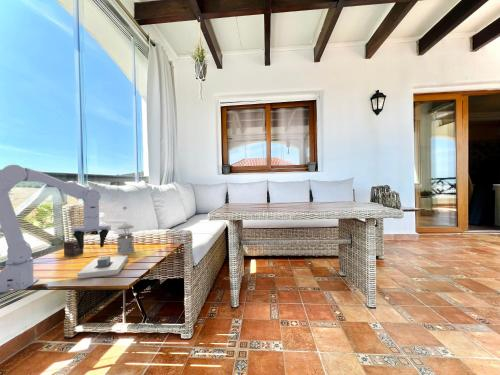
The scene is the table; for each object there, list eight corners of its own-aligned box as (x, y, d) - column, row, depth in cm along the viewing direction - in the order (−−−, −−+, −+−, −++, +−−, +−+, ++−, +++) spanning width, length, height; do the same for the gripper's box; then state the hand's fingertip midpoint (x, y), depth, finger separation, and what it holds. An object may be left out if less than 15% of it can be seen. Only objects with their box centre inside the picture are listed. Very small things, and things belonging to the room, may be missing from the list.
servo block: (107, 271, 99) (106, 259, 99) (97, 272, 98) (97, 260, 98) (110, 267, 104) (110, 256, 104) (101, 268, 103) (101, 257, 103)
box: (73, 256, 121) (72, 242, 121) (63, 256, 123) (63, 242, 123) (83, 253, 127) (83, 239, 127) (74, 252, 129) (74, 239, 128)
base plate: (117, 274, 95) (117, 269, 95) (77, 278, 91) (77, 273, 91) (128, 259, 115) (127, 255, 114) (95, 262, 110) (95, 258, 110)
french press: (114, 255, 121) (113, 207, 121) (117, 250, 132) (116, 206, 132) (135, 253, 125) (134, 206, 125) (136, 248, 136) (135, 205, 136)
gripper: (112, 214, 108) (113, 244, 108) (76, 216, 104) (76, 246, 104) (108, 216, 101) (108, 247, 101) (68, 218, 97) (69, 250, 97)
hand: (92, 247), depth 102 cm, fingers open, 7 cm apart
